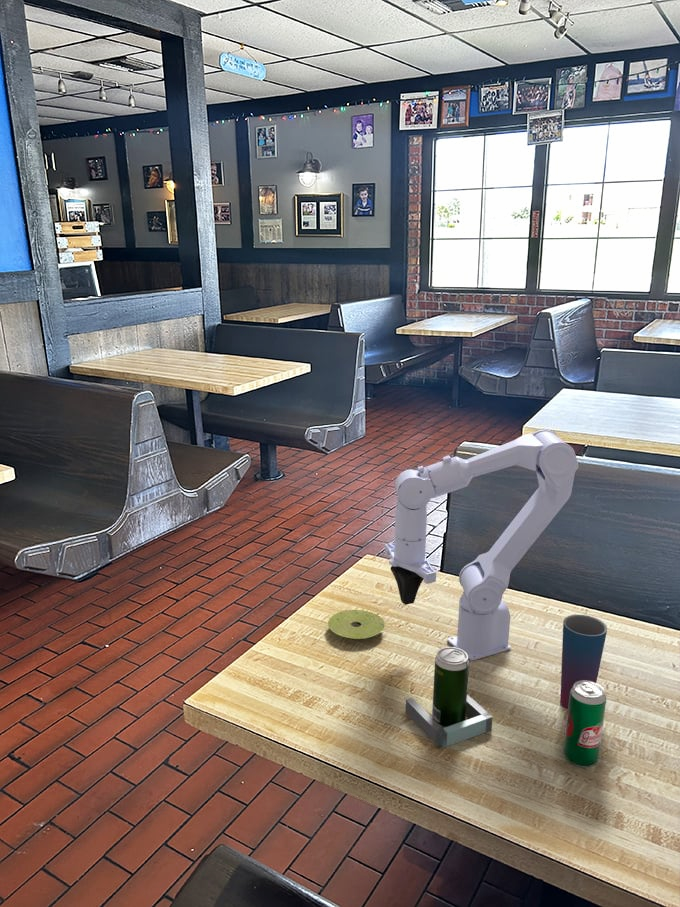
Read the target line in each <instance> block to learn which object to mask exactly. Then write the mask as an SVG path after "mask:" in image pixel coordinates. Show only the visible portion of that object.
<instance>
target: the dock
mask: <svg viewBox="0 0 680 907" xmlns="http://www.w3.org/2000/svg"><path fill="white" fill-rule="evenodd" d="M404 708H405V710H404V711H405V714H406V715H407V717H409V718H410V719H411V720H412V722H413V723H414V724H415V725H417V727H418V728H419V729H420V730H421V731H422V732H423V733H424V734H425V735H426V736H427V737H428V739H430V740H431V741H432V743H434V745H435V746H436V747H437V748H438V749H439V750H442V749H444V748H447V747H450V746H452V745H455V744H457V743H460V742H463V741H466V740H469V739H473V738H474V737H477V736H479V735H481V734H482V735H483V734H485V733H488V732H489V731H490V732H491V731H492V728H493V716H492V715H491V714H490V713H489V712H488V711H487V710H486V709H485V708H484V707H483V706H481V705H480V704H478V702H476V701H475V700H474V699H473V698H472V697H471V696H470V695H469V694H467V702H466V716H467V717H468V718H469V719H465V721H462V722H459V723H457V724H454V725H451V726H448V727H445V728H442V727H441V726H440V725H439V724H438V723H437V722H436V721H435V720H434V719H433V717H432V715H430V714H429V713H428V712H427V711H426V710H425V709H424V708H423V707H422V706H421V705H420V704H419V702H417V700H415V698H413V697H410V698H406V699H405V707H404Z"/></svg>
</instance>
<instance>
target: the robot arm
mask: <svg viewBox="0 0 680 907" xmlns="http://www.w3.org/2000/svg"><path fill="white" fill-rule="evenodd" d="M578 462H579V461H578V458H577V455H576V452H575V450H574V448H573V447H572V446H571V445H570V444H568V443H566V442H565V441H564V440H562V439H561V438H560V437H559V436H558V434H557V433H556V432H554V431H552V430H549V429H539V430H537V431H535V432H533V433H532V432H531V433H530V432H529V433H525V434H523V435H521V436H519V437H517V438H516V439H514V440H511V441H508V442H507V443H504V444H502V445H499V446H497V447H494V448H491V449H490V450H487V451H484V452H482V453H480V454H476V455H475V456H472V457H469V458H467V459H465V458H461V457H459V456H453V457H451V455H450V454H449V455H445V456H443V457H442V460H441V461H437V462H436V463H432V464H430V465H427V466H425V467H424V466H423V465H420V466H418V467H417V469H410V468H409V469H406V470H404V471H402V472H400V473H399V475H397V477H396V479H395V482H394V484H393V486H394V490H395V492H396V494H397V498H396V502H395V508H396V510H395V516H394V521H395V522H394V542H389V543H385V544H384V554H385V555H387V556H390V557H391V558H390V559H389V560H388V564H389V565H391V566H390V571H391V574H393V577H394V579H395V582H396V584H397V589H398V593H399V598H400V601H401V603H402V604H403V605H405V606H407V605H410V604H414V603H415V600H416V597H417V594H418V592H419V589H420V586H421V584H422V583H425V584H426V585H428V584H432V583H436V582H437V571H436V570H434V569H433V568H432V566H431V564H430V562H429V561H428V558H427V557H426V545H427V544H426V543H427V542H426V541H427V525H428V524H427V522H428V520H427V519H428V513H427V505H428V503H429V502H430V501H431V499H434V498H437V497H441V496H444V495H446V494H449V493H452V492H454V491H458V490H460V489H464V488H467V487H468V485H469V484H470V482H471V480H472V479H473V478H476V477H479V476H482V475H487V474H489V473H493V472H497V471H500V470H503V469H506V468H510V467H513V466H518V467H522V468H523V469H524V468H525V469H528V470H531V471H534V472H536V478H537V482H538V488H537V489H536V490H535V491H534V493H533V494H532V495H531V497H530V498H529V499H528V500H527V502H525V504H524V505H523V507H522V508H521V510H520V511H519V512H518V513H517V514H516V516H515V517H514V518H513V520H512V521H511V522H510V523H509V525H508V526H507V527H506V529H505V530H504V531H503V532H502V534H501V535H500V536H499V538H498V539H497V540H496V541H495V542H494V544H493V545H492V546H491V548H490V549H489V550H488V551H487V552H484V553H482V554H478V556H477V557H476V558H475V559H474V560H473V561H472V562H469V563H467V564H466V565H464V567H462V569H461V570H460V572H459V575H458V580H459V583H460V586H461V587H462V590H463V592H462V594H461V597H460V598H459V602H458V603H459V604H458V619H457V632H456V633H457V635H456V636H455V635H454V636H452V637H449V638H447V642H448V644H450V645H452V647H455V648H459V649H461V650H463V651H465V652H466V653H467V655H468V660H469V661H477V660H479V659H482V658H486V657H489V656H493V655H495V654H499V653H502V652H505V651H509V650H510V649H511V648H512V646H511V645H510V644H509V639H510V638H509V637H510V627H511V626H510V625H511V613H510V610H509V606H508V605H507V603H506V602H505V601H504V600H503V596H504V593H505V592H506V590H507V589H508V587H509V582H510V579H511V578H510V577H511V576H510V575H511V573H512V571H513V569H514V568H515V567H516V566H517V564H518V563H519V562H520V560H522V558H523V557H524V556H525V554H526V553H527V552H528V550H530V548H531V547H532V546H533V545H534V543H535V542H536V540H537V539H538V538H539V537H540V536H541V534H542V533H543V532H544V531H545V529H546V528H547V527H548V526H549V524H550V523H551V522H552V521H553V519H554V518H555V517H556V515H557V514H558V513H559V511H560V510H561V509H562V508H563V507H564V506H565V504H566V503H567V502H568V501H569V499H570V497H571V495H572V493H573V492H572V490H573V485H574V480H575V475H576V471H577V470H578V469H579V463H578Z"/></svg>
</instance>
